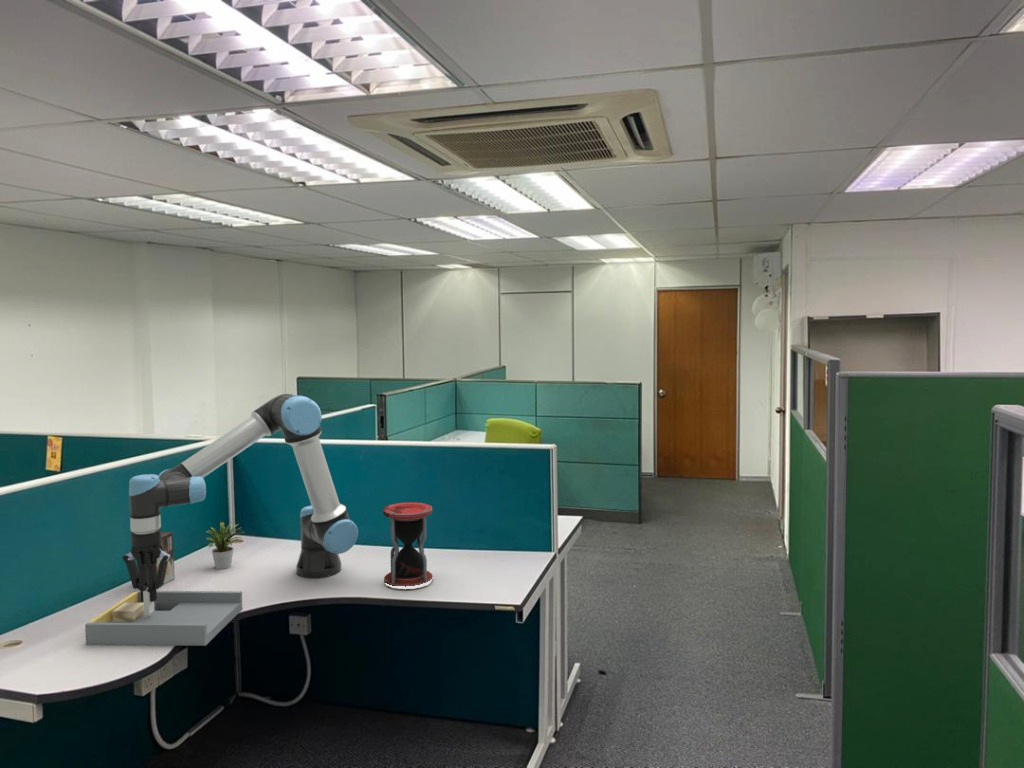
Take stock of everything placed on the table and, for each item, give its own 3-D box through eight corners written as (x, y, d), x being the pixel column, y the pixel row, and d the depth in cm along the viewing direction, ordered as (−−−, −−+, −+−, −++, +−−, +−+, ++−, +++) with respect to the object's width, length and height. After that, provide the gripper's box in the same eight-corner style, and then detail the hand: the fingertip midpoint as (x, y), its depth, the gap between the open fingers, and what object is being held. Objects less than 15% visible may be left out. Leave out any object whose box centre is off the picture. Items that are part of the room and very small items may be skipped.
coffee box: (158, 577, 232) (157, 531, 231) (175, 579, 231) (173, 532, 230) (138, 587, 223) (137, 539, 222) (156, 588, 222) (154, 540, 221)
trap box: (242, 609, 206) (241, 591, 205) (205, 645, 182) (204, 625, 181) (136, 608, 206) (136, 590, 206) (86, 644, 182) (85, 624, 182)
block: (146, 613, 197) (145, 602, 197) (134, 621, 191) (133, 611, 191) (125, 612, 197) (124, 602, 197) (112, 621, 191) (112, 611, 191)
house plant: (223, 576, 233) (222, 529, 232) (191, 572, 237) (189, 526, 236) (252, 563, 247) (250, 519, 245) (220, 559, 251) (219, 515, 250)
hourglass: (406, 570, 240) (405, 499, 238) (442, 579, 231) (442, 506, 229) (373, 584, 226) (372, 509, 225) (410, 594, 218) (410, 517, 216)
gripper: (175, 526, 196) (178, 607, 197) (130, 526, 196) (133, 606, 198) (162, 534, 188) (165, 617, 190) (115, 534, 188) (118, 617, 190)
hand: (149, 612), depth 194 cm, fingers closed
